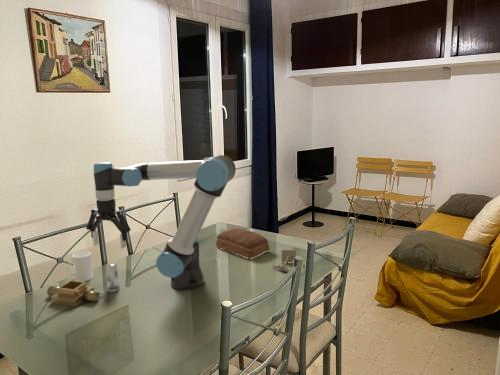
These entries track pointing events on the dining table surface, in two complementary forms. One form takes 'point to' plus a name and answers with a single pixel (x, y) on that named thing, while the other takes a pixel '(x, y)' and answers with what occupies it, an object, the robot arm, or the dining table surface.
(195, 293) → the dining table surface
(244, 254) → the bread
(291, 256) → the decorative sculpture
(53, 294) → the valve body
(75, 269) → the mug
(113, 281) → the pipe stub
